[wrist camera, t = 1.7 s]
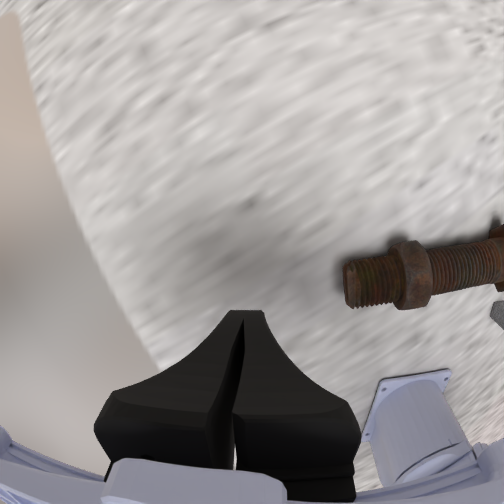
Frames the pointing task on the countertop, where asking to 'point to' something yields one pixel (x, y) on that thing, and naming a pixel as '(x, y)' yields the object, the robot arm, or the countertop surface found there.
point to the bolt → (424, 272)
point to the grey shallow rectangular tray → (498, 313)
